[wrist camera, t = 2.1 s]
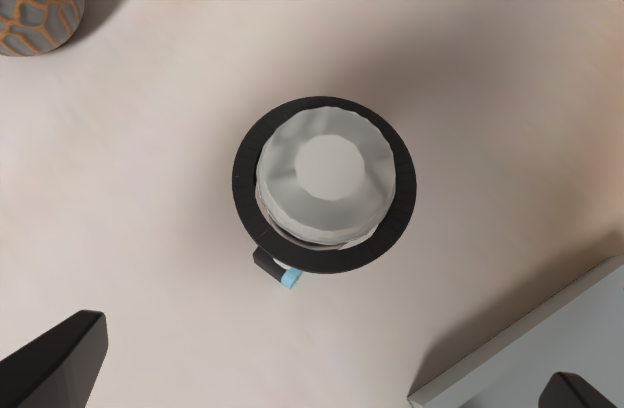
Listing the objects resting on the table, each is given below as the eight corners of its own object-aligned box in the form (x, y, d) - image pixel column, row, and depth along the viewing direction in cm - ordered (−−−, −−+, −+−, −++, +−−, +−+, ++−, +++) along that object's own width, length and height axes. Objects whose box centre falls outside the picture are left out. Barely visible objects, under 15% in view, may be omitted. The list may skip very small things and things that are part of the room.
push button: (309, 148, 23) (335, 14, 13) (394, 209, 22) (487, 117, 12) (226, 250, 21) (185, 182, 11) (316, 320, 20) (354, 311, 11)
